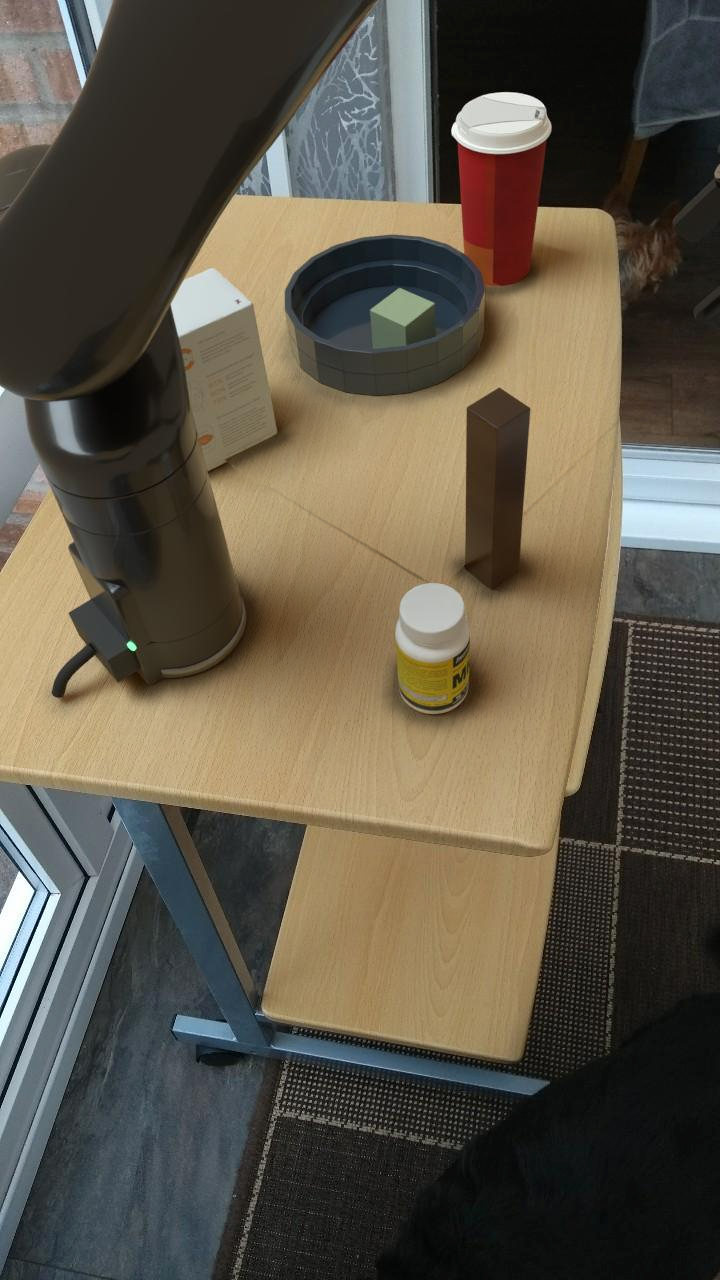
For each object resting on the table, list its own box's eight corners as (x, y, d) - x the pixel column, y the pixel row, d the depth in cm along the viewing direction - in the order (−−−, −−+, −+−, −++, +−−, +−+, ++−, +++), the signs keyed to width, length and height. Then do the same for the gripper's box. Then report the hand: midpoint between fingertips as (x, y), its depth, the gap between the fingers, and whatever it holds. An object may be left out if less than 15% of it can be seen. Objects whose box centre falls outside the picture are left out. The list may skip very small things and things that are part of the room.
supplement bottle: (463, 720, 67) (464, 642, 60) (392, 711, 67) (385, 633, 61) (473, 662, 69) (475, 581, 63) (405, 653, 70) (400, 573, 64)
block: (407, 365, 88) (405, 326, 85) (372, 348, 90) (369, 309, 87) (436, 342, 90) (435, 302, 87) (401, 326, 92) (399, 287, 89)
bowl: (373, 428, 85) (368, 380, 81) (254, 338, 93) (245, 290, 89) (522, 339, 90) (525, 289, 86) (398, 261, 99) (395, 213, 95)
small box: (243, 399, 88) (214, 264, 78) (280, 438, 85) (255, 302, 74) (160, 438, 86) (119, 304, 76) (194, 480, 82) (156, 345, 72)
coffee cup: (546, 250, 98) (558, 90, 87) (535, 301, 94) (546, 138, 82) (460, 245, 100) (460, 87, 88) (445, 294, 95) (443, 134, 83)
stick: (491, 590, 73) (497, 429, 61) (464, 568, 75) (465, 407, 63) (519, 570, 74) (531, 407, 62) (492, 549, 76) (499, 386, 64)
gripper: (858, -50, 55) (634, 178, 66) (935, 98, 47) (667, 328, 59) (937, 30, 58) (712, 234, 70) (1021, 181, 51) (752, 382, 62)
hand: (692, 277), depth 64 cm, fingers open, 8 cm apart
